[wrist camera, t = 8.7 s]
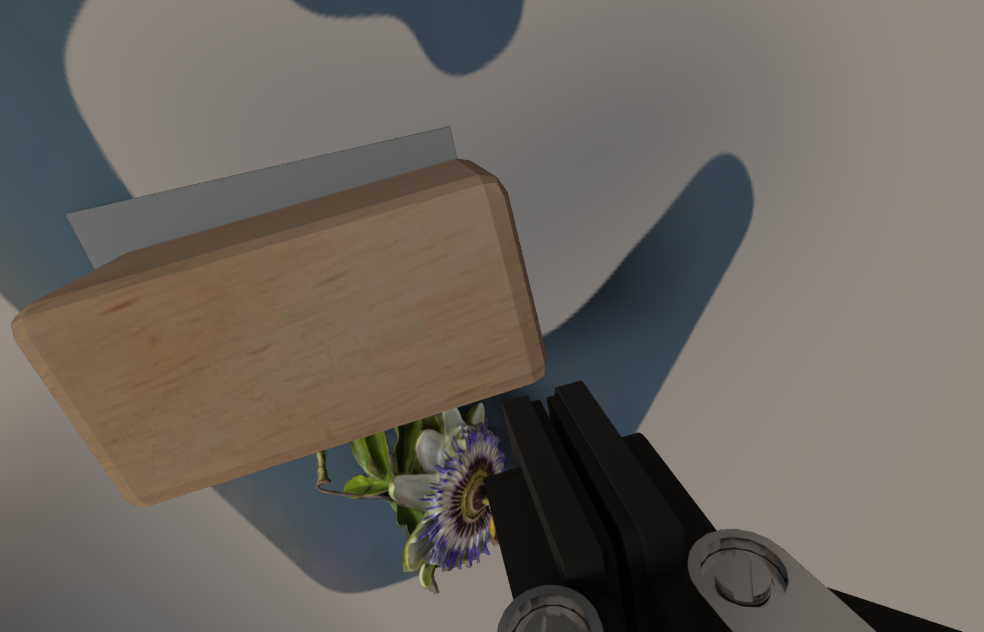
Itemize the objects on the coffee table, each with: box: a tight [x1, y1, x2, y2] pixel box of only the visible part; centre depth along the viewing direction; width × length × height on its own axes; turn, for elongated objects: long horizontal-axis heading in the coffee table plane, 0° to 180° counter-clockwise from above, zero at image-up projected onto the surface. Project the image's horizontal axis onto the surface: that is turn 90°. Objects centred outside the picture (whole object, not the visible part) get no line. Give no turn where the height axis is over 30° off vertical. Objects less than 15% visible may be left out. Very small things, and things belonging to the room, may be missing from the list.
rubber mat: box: [66, 126, 457, 269], centre depth 31 cm, size 12×20×1 cm, turn 102°
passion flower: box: [316, 403, 505, 594], centre depth 33 cm, size 11×11×12 cm
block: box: [11, 159, 547, 506], centre depth 26 cm, size 10×10×20 cm
